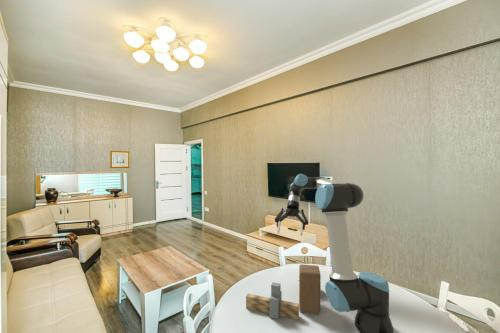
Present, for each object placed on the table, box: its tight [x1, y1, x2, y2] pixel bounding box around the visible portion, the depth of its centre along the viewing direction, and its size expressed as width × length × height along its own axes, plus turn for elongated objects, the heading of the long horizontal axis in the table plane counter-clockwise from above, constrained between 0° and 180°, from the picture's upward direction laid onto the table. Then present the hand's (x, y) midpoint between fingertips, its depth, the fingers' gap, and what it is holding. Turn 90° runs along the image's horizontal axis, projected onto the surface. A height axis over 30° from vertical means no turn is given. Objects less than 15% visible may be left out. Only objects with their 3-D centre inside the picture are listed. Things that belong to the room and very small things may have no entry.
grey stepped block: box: [269, 281, 283, 320], centre depth 111 cm, size 8×4×14 cm, turn 161°
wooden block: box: [298, 263, 322, 315], centre depth 115 cm, size 10×10×20 cm
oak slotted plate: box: [245, 293, 300, 320], centre depth 112 cm, size 26×2×6 cm, turn 71°
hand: (289, 233), depth 133 cm, fingers open, 13 cm apart
